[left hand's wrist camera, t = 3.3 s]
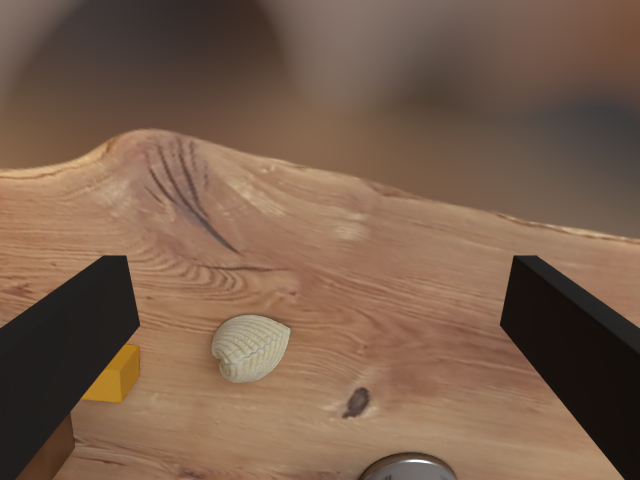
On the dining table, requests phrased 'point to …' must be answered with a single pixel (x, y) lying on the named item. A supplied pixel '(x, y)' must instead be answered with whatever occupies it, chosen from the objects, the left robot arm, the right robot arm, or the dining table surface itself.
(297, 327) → the dining table surface
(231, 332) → the seashell
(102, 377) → the block
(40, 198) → the dining table surface
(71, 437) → the chest
